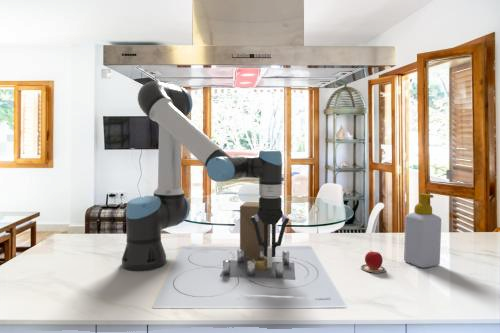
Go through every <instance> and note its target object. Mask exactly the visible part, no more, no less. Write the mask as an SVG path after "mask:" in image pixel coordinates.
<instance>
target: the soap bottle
mask: <svg viewBox="0 0 500 333" xmlns="http://www.w3.org/2000/svg"><path fill="white" fill-rule="evenodd" d="M429 198H430V199H432V198H433V199H434V195H433V194H429V193H423V192H422V193H419V202H418V203H417V204H415V206H414V208H413V209H414V212H410V213H408V214H406V215H405V217H404V243H403V244H404V245H403V246H404V250H403V261H404V262H406V263H408V264H410V263H411V264H410V265H414V266H415V267H418V268H421V269H424V268H426V267H427V268H432V267H437V265H438V266H439V265H440V264H441V238H442V218H441V217H440V216H439V215H437V214H434V213H433V207H432V205H430V204H429Z"/></svg>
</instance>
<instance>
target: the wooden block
mask: <svg viewBox="0 0 500 333" xmlns="http://www.w3.org/2000/svg"><path fill="white" fill-rule="evenodd" d="M258 211H259V201H245V202H243V203H242V204H240V207H239V249H243V250H244V260H246V259H247V260H248V259H249V260H253V258H255V257H260V250H264V247H263V246H260V245H259V243H258V239H257V235H256V231H255V227H254V224H253V222H252V221H251V218H252V216H255V215H257V213H258ZM258 219H259V220H258V224H259V228H260V232H261V237H262V241H264V223H263V222H262V221H261V219H260V218H259V217H258ZM268 246H271V224H268Z"/></svg>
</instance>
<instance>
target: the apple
mask: <svg viewBox="0 0 500 333" xmlns="http://www.w3.org/2000/svg"><path fill="white" fill-rule="evenodd" d="M383 261H384V260H383V256H382V254H381V253H380V252H378V251H368V252H367V253H366V255H365V257H364V262H365V263H363V264H362V265H360V268H361V269H362V270H363V271H365V272H370V273H377V274H378V273H384V272H386V267H384V266H382V265H383Z"/></svg>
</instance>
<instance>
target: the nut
mask: <svg viewBox="0 0 500 333" xmlns="http://www.w3.org/2000/svg"><path fill="white" fill-rule="evenodd" d="M252 261H255V271H262V272H263V271H265V270H267V259H266V258H265V257H255V258H253V259H252Z"/></svg>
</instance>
